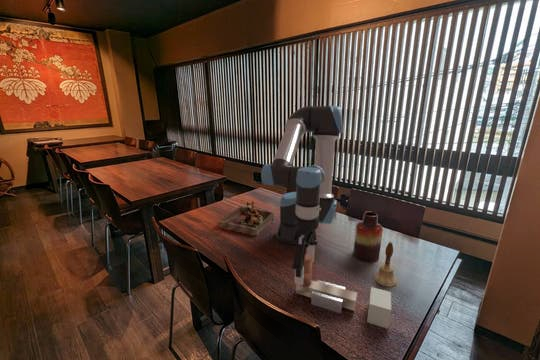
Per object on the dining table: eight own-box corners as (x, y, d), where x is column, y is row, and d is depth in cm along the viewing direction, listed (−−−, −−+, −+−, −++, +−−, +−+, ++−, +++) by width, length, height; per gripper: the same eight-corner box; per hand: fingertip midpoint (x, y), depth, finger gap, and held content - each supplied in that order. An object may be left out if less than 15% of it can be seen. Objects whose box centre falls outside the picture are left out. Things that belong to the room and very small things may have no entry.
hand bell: (369, 273, 101) (374, 238, 97) (389, 271, 102) (395, 237, 97) (380, 287, 93) (385, 250, 89) (401, 286, 94) (408, 248, 89)
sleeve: (311, 304, 86) (311, 293, 85) (316, 290, 92) (317, 279, 91) (341, 313, 82) (342, 302, 81) (344, 298, 89) (345, 287, 87)
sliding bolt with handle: (295, 293, 89) (296, 259, 85) (299, 285, 93) (300, 252, 89) (354, 311, 81) (358, 275, 77) (356, 301, 86) (360, 266, 81)
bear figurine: (237, 228, 138) (236, 208, 135) (245, 217, 152) (244, 198, 149) (261, 231, 135) (260, 210, 132) (267, 219, 150) (267, 199, 146)
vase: (366, 265, 106) (372, 221, 100) (348, 252, 115) (352, 211, 109) (384, 258, 111) (390, 216, 105) (365, 246, 120) (369, 207, 114)
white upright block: (367, 322, 79) (369, 303, 77) (368, 304, 86) (371, 286, 84) (388, 329, 76) (391, 310, 74) (388, 310, 83) (390, 292, 81)
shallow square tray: (219, 228, 139) (219, 221, 137) (240, 211, 159) (240, 206, 157) (256, 236, 130) (256, 229, 128) (274, 218, 150) (274, 212, 148)
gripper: (307, 235, 69) (305, 298, 75) (326, 203, 91) (323, 254, 97) (282, 230, 72) (281, 291, 78) (306, 200, 94) (304, 250, 100)
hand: (304, 271), depth 88 cm, fingers open, 13 cm apart
